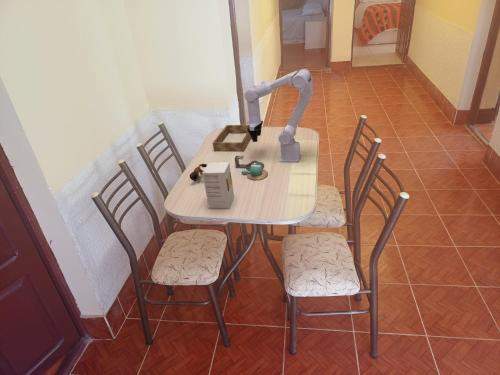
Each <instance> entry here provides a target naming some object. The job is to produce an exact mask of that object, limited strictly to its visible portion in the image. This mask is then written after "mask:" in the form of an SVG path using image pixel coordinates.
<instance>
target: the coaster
mask: <svg viewBox="0 0 500 375" xmlns="http://www.w3.org/2000/svg"><path fill="white" fill-rule="evenodd" d="M268 172H269V171H268V170H266V169H264V168H263V169H262V175H261V176H258V177H253V176H252V175H251V174H246V178H247V179H249V180H250V181H254V182H256V181H257V180H258V181H262V180H265V179H266V178H268V176H269V173H268Z"/></svg>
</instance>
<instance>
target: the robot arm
mask: <svg viewBox="0 0 500 375" xmlns="http://www.w3.org/2000/svg"><path fill="white" fill-rule="evenodd" d="M285 85H289V86H290V87H292V86H294V88H295V89H296V90H297V91H298V92H299V94H300V96H299V98H298V101H297V103H296V105H295V107H294V109H293V112H292V114H291V116H290V118H289V120H288V122H287V124H286V126H285V127H284V128H283V130H282V131H281V133H280V134H279V136H278V141H279V143H280V145H279V146H280V158H279V160H278V161H279V162H283V163H284V162H286V163H287V162H288V163H289V162H291V163H298V162H299V161H300V157H301V147H300V146H301V145H300V143H301V142H300V141H296V139H295V138H294V137H295V136H296V134H297V133H296V132H297V131H296V130H297V128H298V125H299V123H300V121H301V119H302V117H303V115H304V113H305V111H306V109H307V107H308V106H309V103H310V102H311V99H312V98H313V95H314V88H313V87H314V86H313V76H312V73H311V72H310V70H309V69H307V68H301V69H300V70H295V71H293V72H290V73H287V74H286V75H284V76H282V77H280V78H278V79H275V80H273V81H268V80H267V81H265V80H262V81H261V82H260V84H257V85H252V87H250V88H248V89H247V90H246V91H245V93H244V99H245V100H246V104H247V112H248V113H247V114H248V120H247V121H246V123H247V124H248V125H250V128H248V129H247V130H248V132H249V134H250V136H251V140H252V143H257V142H258V137H259V136H261V134H262V127H263V124H264V120H262V118H261V106H260V98H263V97H265V96H268V95H270V94H272V93H273V90H275V89H278V88H280V87H283V86H285Z"/></svg>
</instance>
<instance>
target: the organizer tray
mask: <svg viewBox="0 0 500 375" xmlns="http://www.w3.org/2000/svg"><path fill="white" fill-rule="evenodd" d="M248 128H250V125H249V124H226V125H225V126H224V128H223V129H222V130H221V131H220V133H219V134H218V135H217V137H216V138H215V139H214V140H213V142H212V147H213V152H230V153H231V152H236V153H237V152H238V153H239V152H243V153H244V152H245V150H246V148H247V146H248V145H249V144H250V141H251V140H252V138H251V136H250V134H249V132H248V130H247V129H248ZM229 134H245V136H244V137H243V139H242V140H241V142H239V141H238V142H234V141H233V142H227V141H226V142H225V139H226V138H227V137H226V136H228V135H229Z"/></svg>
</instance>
